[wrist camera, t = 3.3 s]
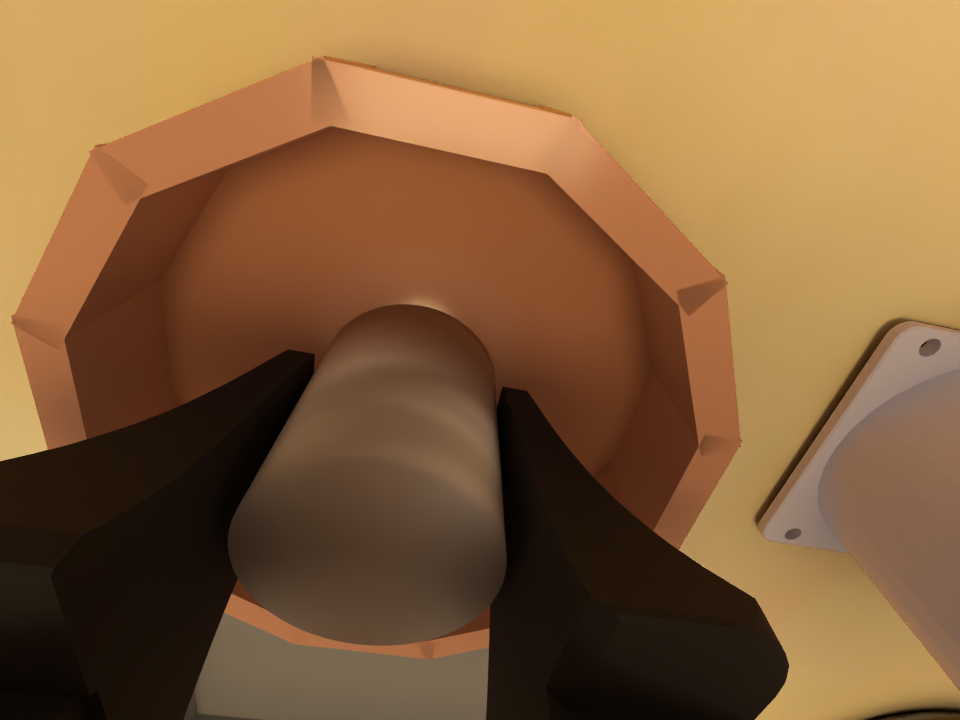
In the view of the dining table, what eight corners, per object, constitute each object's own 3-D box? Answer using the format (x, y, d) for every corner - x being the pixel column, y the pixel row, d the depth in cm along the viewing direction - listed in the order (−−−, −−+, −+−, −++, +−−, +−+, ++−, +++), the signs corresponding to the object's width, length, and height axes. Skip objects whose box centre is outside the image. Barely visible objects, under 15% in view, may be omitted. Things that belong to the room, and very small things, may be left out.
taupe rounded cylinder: (513, 322, 12) (537, 483, 7) (476, 461, 14) (476, 658, 9) (328, 288, 11) (220, 435, 7) (319, 436, 14) (232, 630, 9)
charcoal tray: (632, 599, 19) (650, 659, 17) (552, 741, 24) (559, 799, 22) (161, 537, 17) (121, 596, 15) (187, 706, 22) (159, 765, 20)
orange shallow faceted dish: (760, 157, 11) (891, 190, 8) (578, 561, 18) (603, 679, 14) (115, 5, 10) (-92, -42, 6) (177, 506, 16) (94, 622, 13)
